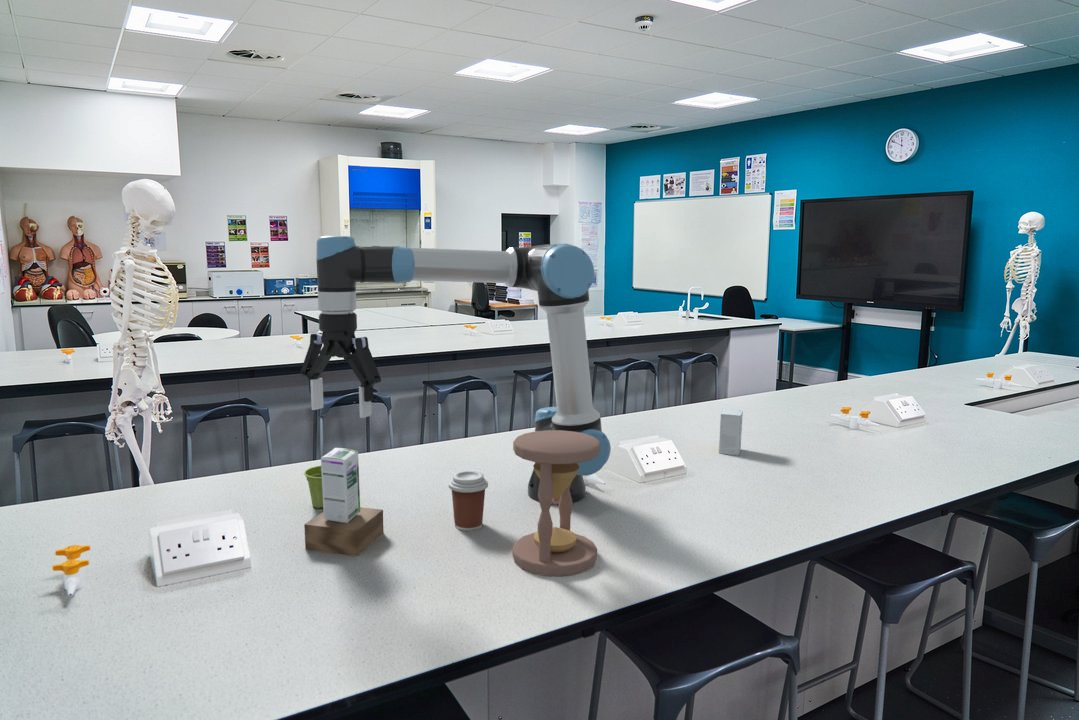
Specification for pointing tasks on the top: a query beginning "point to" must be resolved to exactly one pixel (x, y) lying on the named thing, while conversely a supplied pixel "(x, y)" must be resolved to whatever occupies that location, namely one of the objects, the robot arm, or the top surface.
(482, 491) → the coffee cup
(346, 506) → the syrup box
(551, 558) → the hourglass
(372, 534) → the base block
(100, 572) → the top surface
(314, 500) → the plant pot
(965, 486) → the top surface
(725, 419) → the small box
